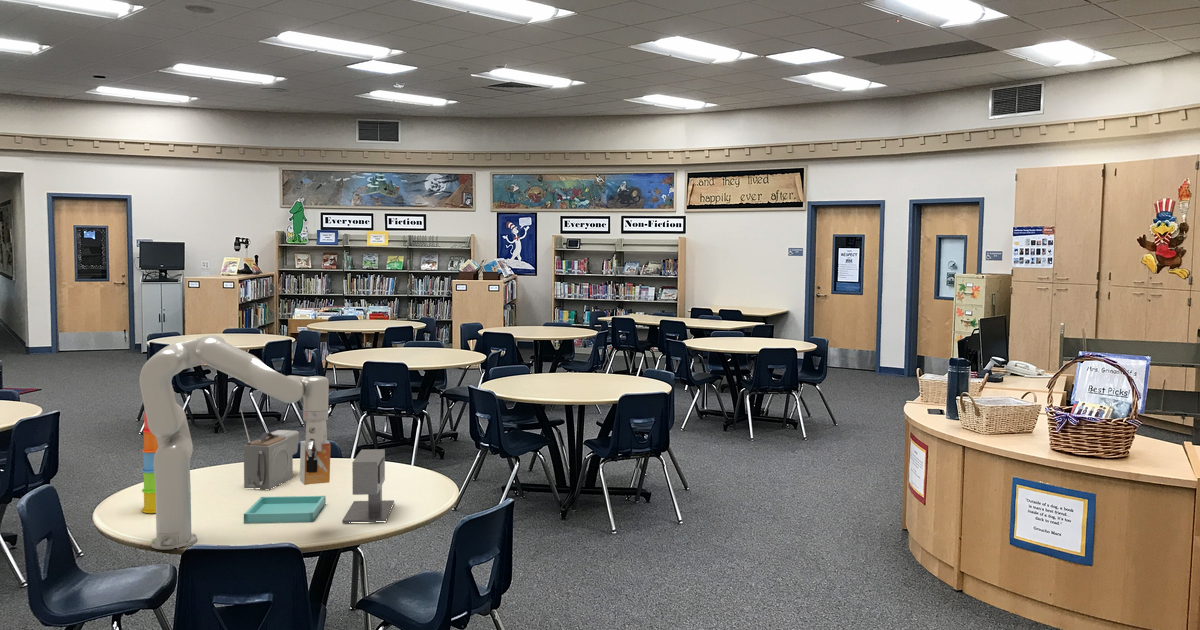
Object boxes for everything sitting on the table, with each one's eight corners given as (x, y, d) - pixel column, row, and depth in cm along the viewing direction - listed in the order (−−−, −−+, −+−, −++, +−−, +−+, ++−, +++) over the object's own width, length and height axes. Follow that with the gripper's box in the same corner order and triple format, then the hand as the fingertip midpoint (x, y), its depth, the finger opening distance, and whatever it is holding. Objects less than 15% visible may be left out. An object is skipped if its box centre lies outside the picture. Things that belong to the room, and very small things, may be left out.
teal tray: (312, 521, 275) (312, 512, 275) (243, 523, 272) (243, 514, 272) (325, 504, 295) (325, 495, 295) (261, 505, 292) (261, 496, 292)
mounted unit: (385, 523, 275) (385, 463, 274) (342, 524, 273) (341, 463, 272) (394, 503, 297) (394, 447, 295) (354, 504, 295) (353, 448, 294)
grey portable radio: (300, 475, 333) (299, 401, 331) (268, 491, 310) (267, 411, 308) (272, 473, 335) (271, 399, 333) (238, 489, 311) (237, 410, 309)
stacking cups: (136, 514, 280) (134, 413, 277) (150, 505, 290) (148, 407, 288) (168, 514, 281) (166, 413, 278) (180, 505, 291) (178, 407, 288)
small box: (304, 485, 261) (304, 444, 261) (299, 480, 267) (300, 440, 266) (330, 482, 266) (331, 442, 265) (325, 478, 271) (325, 438, 270)
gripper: (322, 420, 257) (321, 475, 258) (333, 410, 274) (332, 462, 275) (297, 420, 256) (296, 475, 257) (309, 410, 273) (309, 462, 274)
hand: (315, 468), depth 266 cm, fingers closed on small box, 8 cm apart
